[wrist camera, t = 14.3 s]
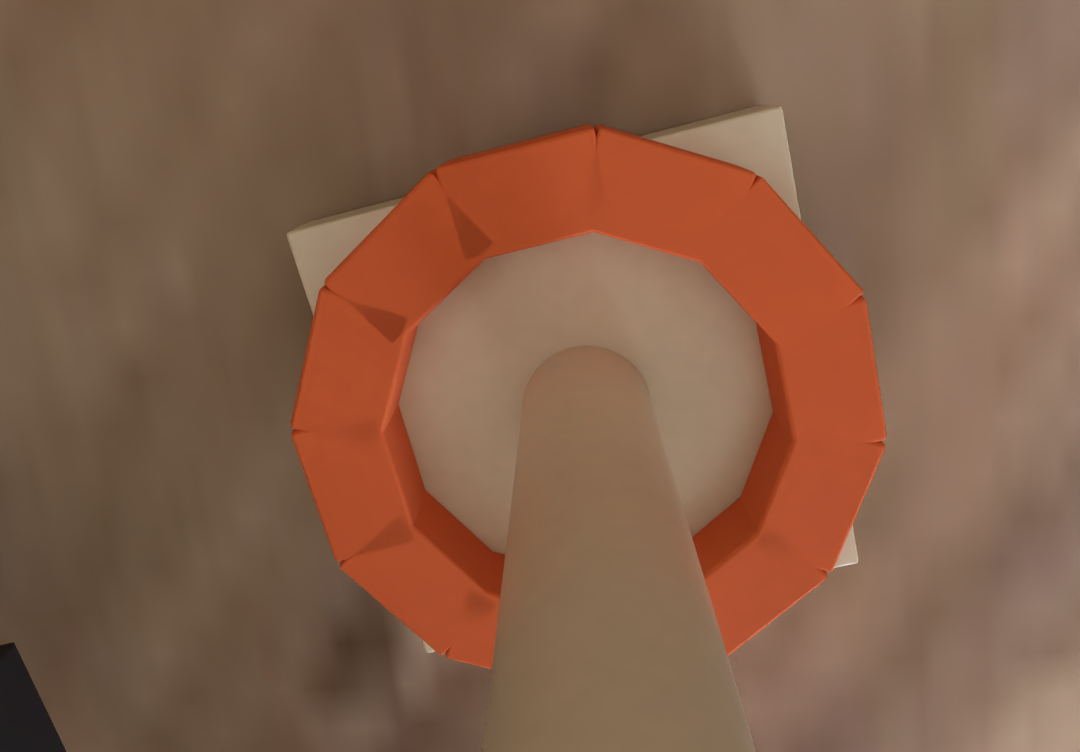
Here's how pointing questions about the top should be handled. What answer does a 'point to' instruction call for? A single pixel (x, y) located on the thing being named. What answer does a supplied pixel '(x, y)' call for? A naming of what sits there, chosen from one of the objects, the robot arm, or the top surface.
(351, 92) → the top surface
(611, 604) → the tall post
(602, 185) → the ring
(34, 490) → the top surface
